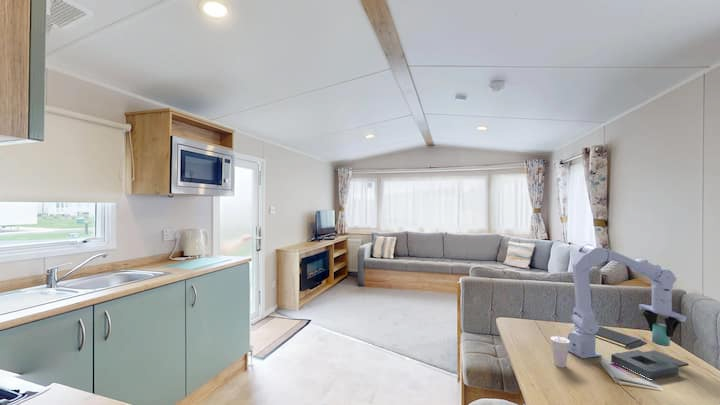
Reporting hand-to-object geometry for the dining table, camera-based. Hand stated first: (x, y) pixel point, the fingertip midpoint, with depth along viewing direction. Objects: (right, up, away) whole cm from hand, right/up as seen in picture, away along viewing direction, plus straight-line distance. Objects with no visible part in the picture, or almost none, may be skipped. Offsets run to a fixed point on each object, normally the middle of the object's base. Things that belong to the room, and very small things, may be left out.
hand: (661, 333), depth 124 cm
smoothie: (-42, -10, -4) cm, 44 cm away
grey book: (-3, -11, +20) cm, 23 cm away
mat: (0, -10, 0) cm, 10 cm away
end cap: (0, -4, 0) cm, 4 cm away
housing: (-13, -10, -7) cm, 18 cm away
